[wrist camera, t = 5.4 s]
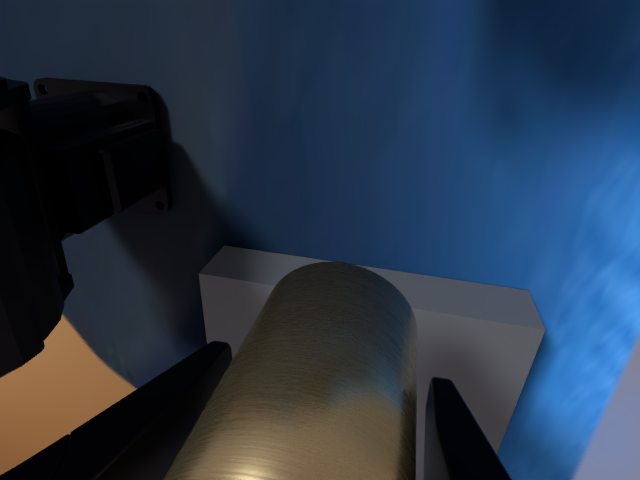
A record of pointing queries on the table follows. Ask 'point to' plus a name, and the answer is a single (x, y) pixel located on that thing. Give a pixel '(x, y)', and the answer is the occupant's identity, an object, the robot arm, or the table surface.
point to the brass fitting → (315, 386)
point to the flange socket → (432, 325)
